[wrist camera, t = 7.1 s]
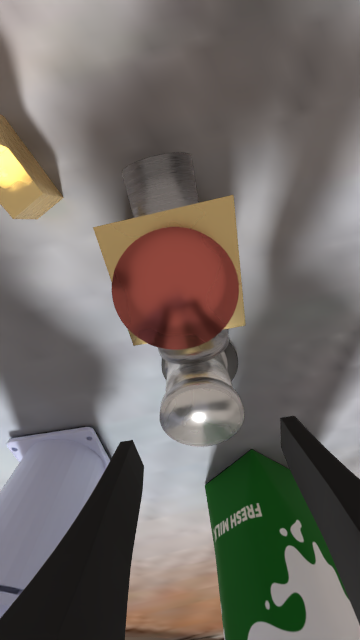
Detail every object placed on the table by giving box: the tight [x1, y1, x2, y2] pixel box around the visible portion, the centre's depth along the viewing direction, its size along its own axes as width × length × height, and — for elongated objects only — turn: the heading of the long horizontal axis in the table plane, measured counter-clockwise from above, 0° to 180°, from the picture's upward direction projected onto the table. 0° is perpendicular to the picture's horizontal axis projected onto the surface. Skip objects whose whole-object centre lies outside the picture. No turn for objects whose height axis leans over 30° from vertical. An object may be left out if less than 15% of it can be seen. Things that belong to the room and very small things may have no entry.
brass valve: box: [93, 153, 245, 365], centre depth 10 cm, size 9×5×7 cm, turn 12°
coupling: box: [160, 351, 244, 446], centre depth 14 cm, size 4×4×5 cm
